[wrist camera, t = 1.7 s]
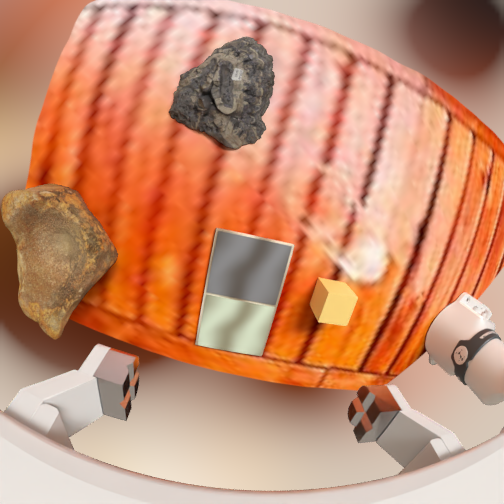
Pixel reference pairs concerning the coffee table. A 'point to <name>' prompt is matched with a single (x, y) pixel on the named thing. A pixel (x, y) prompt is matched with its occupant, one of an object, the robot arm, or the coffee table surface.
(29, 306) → the rough brown rock
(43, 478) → the robot arm
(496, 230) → the coffee table surface
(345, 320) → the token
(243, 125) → the dark grey rock
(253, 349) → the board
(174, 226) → the coffee table surface
